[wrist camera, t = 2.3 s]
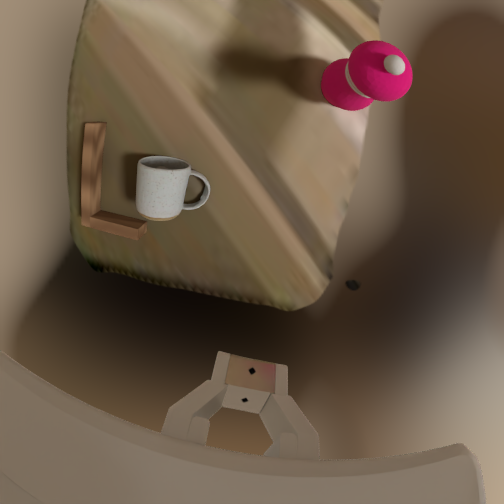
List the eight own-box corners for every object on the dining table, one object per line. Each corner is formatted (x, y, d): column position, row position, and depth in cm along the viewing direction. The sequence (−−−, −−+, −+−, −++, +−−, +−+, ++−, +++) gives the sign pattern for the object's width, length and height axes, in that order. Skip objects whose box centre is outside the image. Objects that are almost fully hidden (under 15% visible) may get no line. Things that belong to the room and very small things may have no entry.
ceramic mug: (146, 201, 43) (125, 218, 36) (151, 153, 39) (129, 161, 32) (207, 214, 43) (194, 234, 36) (216, 164, 39) (204, 175, 33)
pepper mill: (312, 103, 34) (346, 86, 16) (322, 59, 30) (361, 9, 13) (360, 117, 34) (428, 121, 16) (369, 74, 31) (441, 47, 13)
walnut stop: (97, 121, 37) (85, 123, 34) (158, 127, 37) (148, 128, 34) (92, 217, 45) (81, 225, 42) (146, 231, 45) (137, 240, 42)
